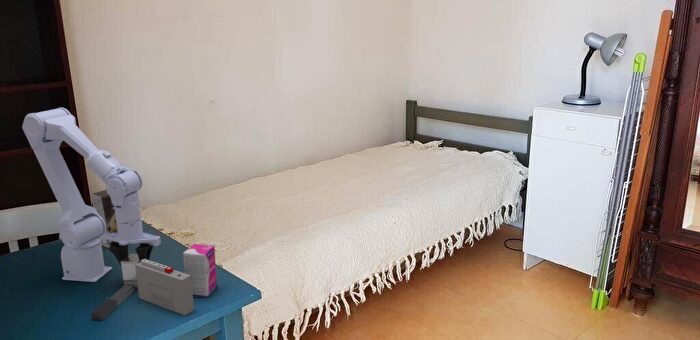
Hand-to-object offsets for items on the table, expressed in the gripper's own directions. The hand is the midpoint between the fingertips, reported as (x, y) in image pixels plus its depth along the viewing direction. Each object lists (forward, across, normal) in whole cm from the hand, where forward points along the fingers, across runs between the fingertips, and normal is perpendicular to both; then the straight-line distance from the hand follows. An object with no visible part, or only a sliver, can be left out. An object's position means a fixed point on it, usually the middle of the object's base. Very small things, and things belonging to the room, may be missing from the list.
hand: (135, 269), depth 138 cm
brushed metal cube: (+2, 0, 0) cm, 2 cm away
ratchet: (+4, 0, -7) cm, 8 cm away
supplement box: (+4, +18, -1) cm, 19 cm away
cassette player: (+4, +12, -8) cm, 15 cm away
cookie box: (+4, -20, +24) cm, 32 cm away
